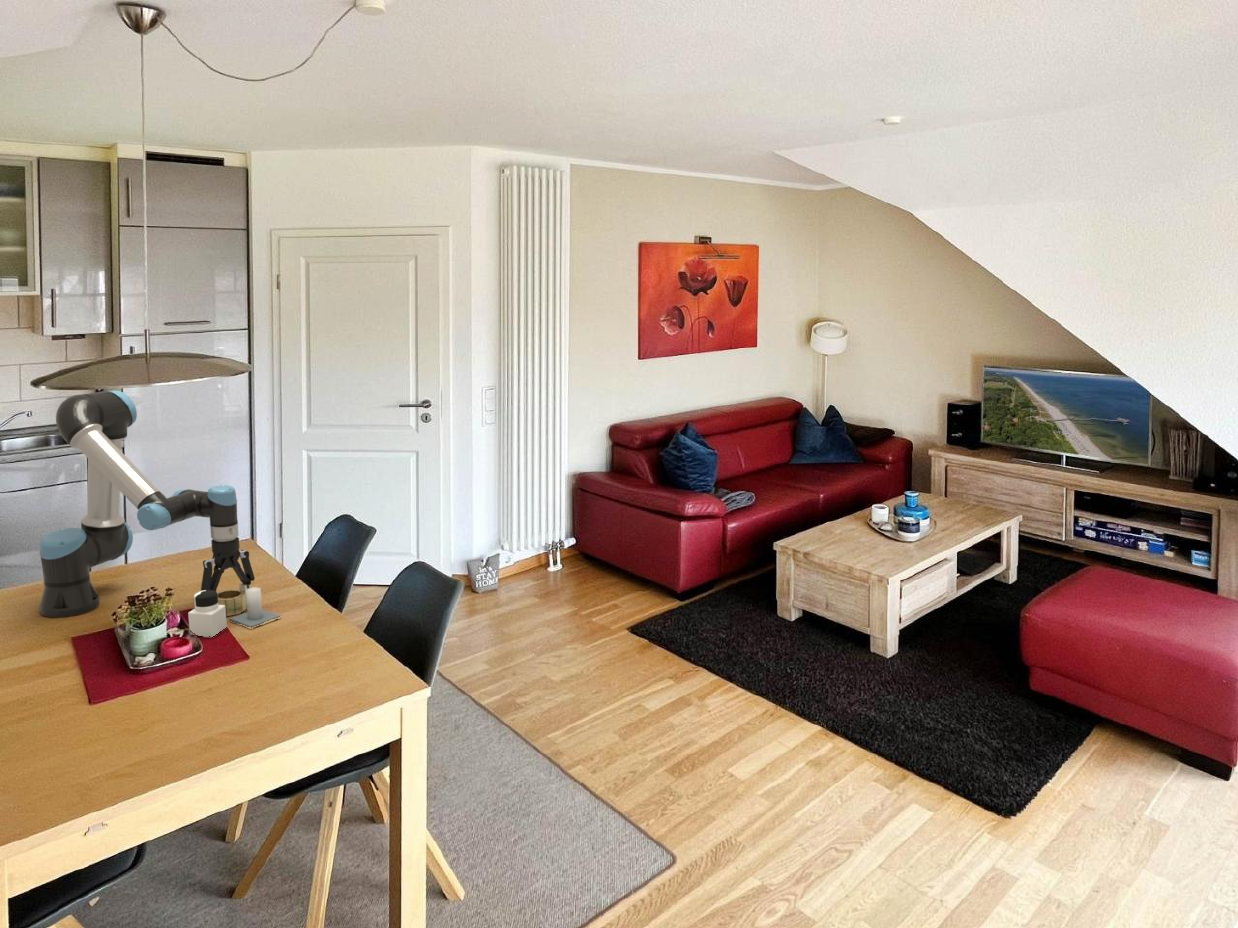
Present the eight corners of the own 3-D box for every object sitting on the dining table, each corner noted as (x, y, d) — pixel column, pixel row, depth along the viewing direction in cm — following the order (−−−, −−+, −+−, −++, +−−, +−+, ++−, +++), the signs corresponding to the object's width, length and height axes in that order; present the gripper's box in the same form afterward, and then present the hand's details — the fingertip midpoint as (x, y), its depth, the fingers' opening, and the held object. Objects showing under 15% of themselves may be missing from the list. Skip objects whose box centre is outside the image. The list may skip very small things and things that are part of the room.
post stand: (229, 621, 257) (227, 590, 255) (259, 611, 265) (257, 581, 263) (251, 629, 251) (249, 598, 249) (280, 618, 260) (279, 588, 258)
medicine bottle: (227, 628, 252) (224, 588, 250) (213, 638, 245) (210, 597, 243) (203, 626, 253) (200, 587, 250) (189, 636, 246) (186, 595, 243)
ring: (207, 611, 263) (205, 595, 262) (234, 602, 270) (232, 587, 269) (225, 618, 258) (224, 602, 257) (252, 608, 266) (251, 593, 265)
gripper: (198, 549, 249) (204, 623, 253) (265, 531, 267) (269, 601, 271) (182, 544, 252) (188, 617, 257) (249, 527, 270) (253, 596, 275)
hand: (229, 609), depth 264 cm, fingers closed on ring, 9 cm apart
